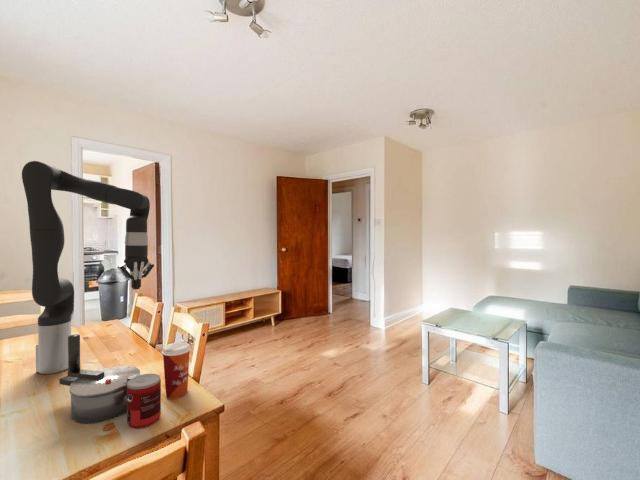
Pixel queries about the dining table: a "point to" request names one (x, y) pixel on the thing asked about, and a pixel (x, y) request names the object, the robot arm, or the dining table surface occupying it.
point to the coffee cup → (176, 369)
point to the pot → (96, 405)
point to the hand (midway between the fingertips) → (136, 289)
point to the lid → (95, 374)
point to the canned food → (143, 400)
